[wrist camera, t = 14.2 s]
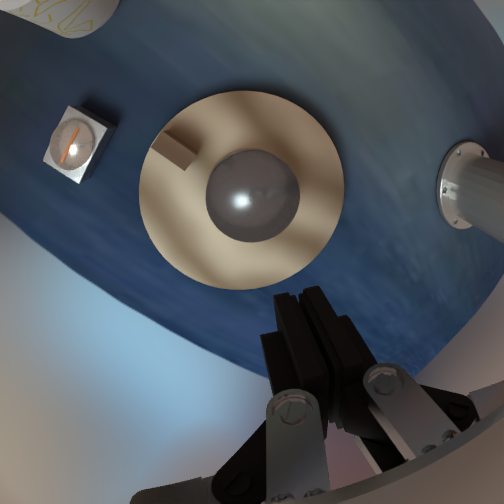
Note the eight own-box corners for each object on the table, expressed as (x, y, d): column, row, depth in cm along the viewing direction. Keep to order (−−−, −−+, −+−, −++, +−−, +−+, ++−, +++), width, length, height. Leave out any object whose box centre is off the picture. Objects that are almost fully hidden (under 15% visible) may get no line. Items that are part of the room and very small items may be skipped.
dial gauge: (81, 106, 23) (64, 105, 20) (117, 127, 25) (104, 128, 22) (56, 156, 25) (38, 161, 22) (90, 177, 27) (75, 185, 23)
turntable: (227, 53, 23) (230, 40, 19) (372, 181, 30) (393, 191, 26) (107, 216, 28) (92, 231, 24) (256, 310, 35) (262, 335, 31)
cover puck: (243, 130, 25) (246, 131, 22) (307, 184, 28) (318, 191, 25) (189, 198, 27) (186, 207, 24) (255, 245, 30) (259, 258, 27)
